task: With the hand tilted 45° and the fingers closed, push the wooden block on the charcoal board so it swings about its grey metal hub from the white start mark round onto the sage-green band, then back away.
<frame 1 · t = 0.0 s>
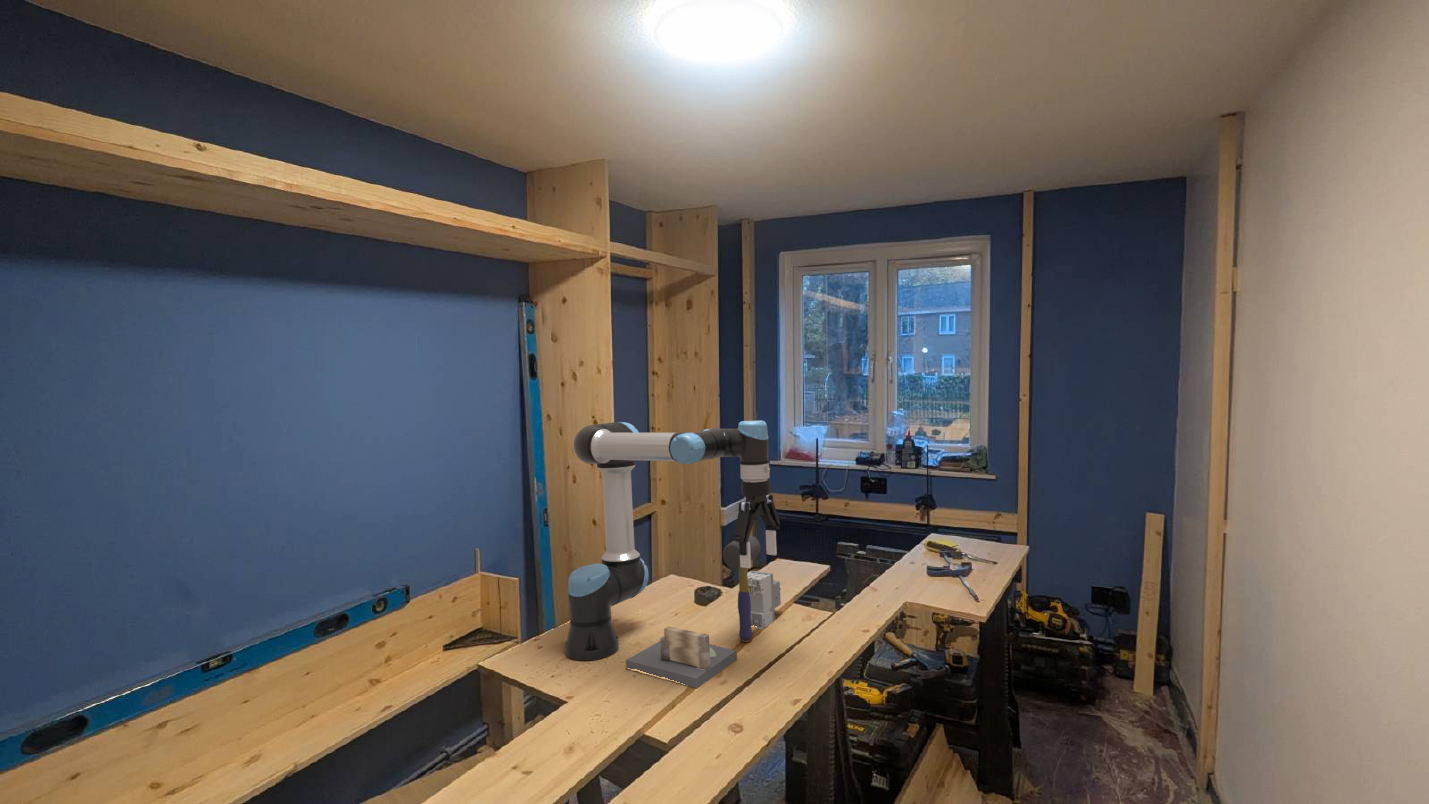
hand: (759, 560, 167), 28 cm above the table, tool pointing down, fingers open, 13 cm apart
wooden block: (684, 646, 166), point 7 cm above the table, hinge at 0.0°
circuit breaker: (762, 620, 201), on the table
rubber mallet: (746, 641, 185), on the table
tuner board: (682, 664, 171), on the table
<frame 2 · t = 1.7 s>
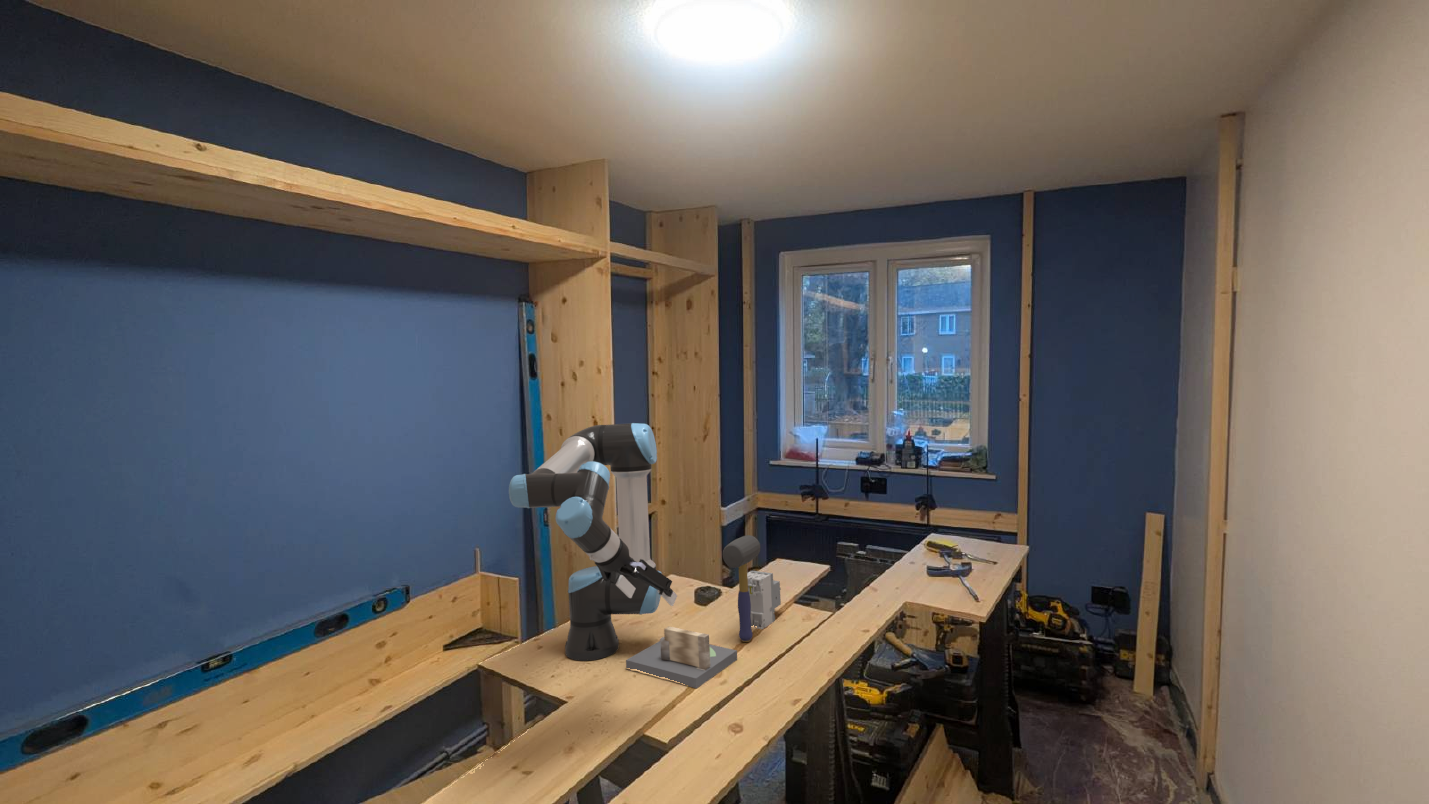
hand: (652, 596, 155), 23 cm above the table, tool tilted 45°, fingers open, 12 cm apart
nothing on the table moved.
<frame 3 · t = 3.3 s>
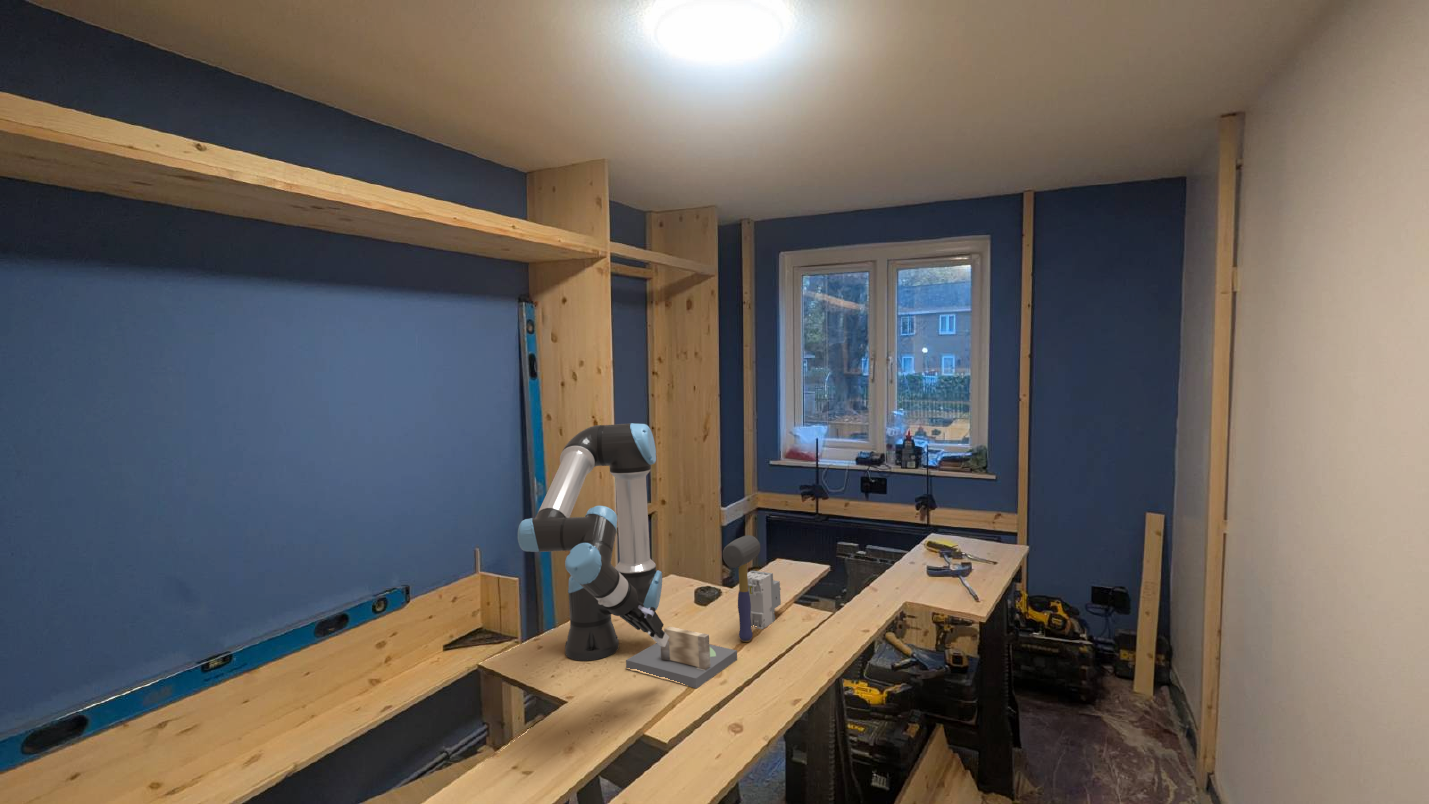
hand: (664, 641, 158), 11 cm above the table, tool tilted 45°, fingers closed
nothing on the table moved.
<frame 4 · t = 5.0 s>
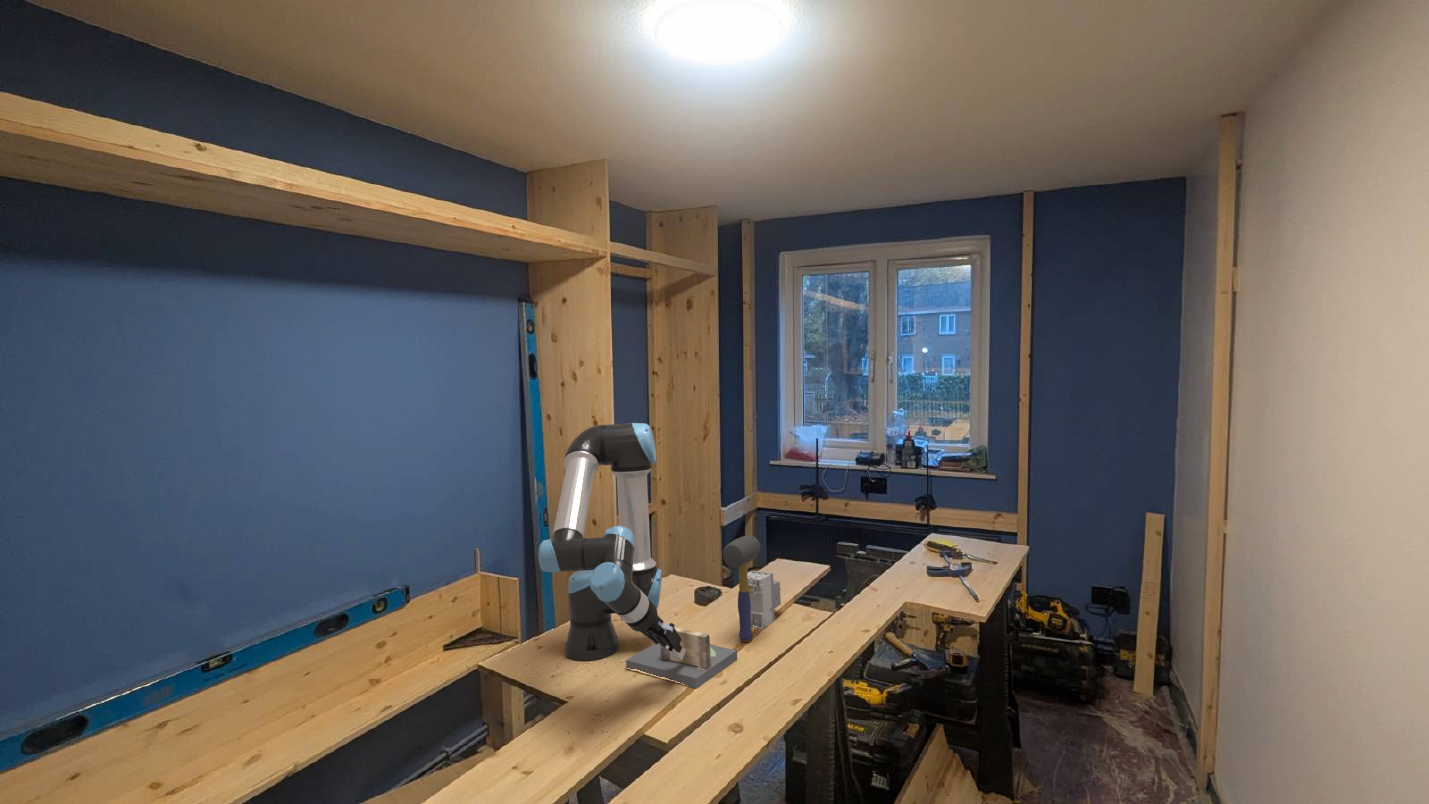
hand: (681, 654, 164), 6 cm above the table, tool tilted 45°, fingers closed
wooden block: (684, 646, 166), point 7 cm above the table, hinge at 1.1°, touching gripper
everything else where it was.
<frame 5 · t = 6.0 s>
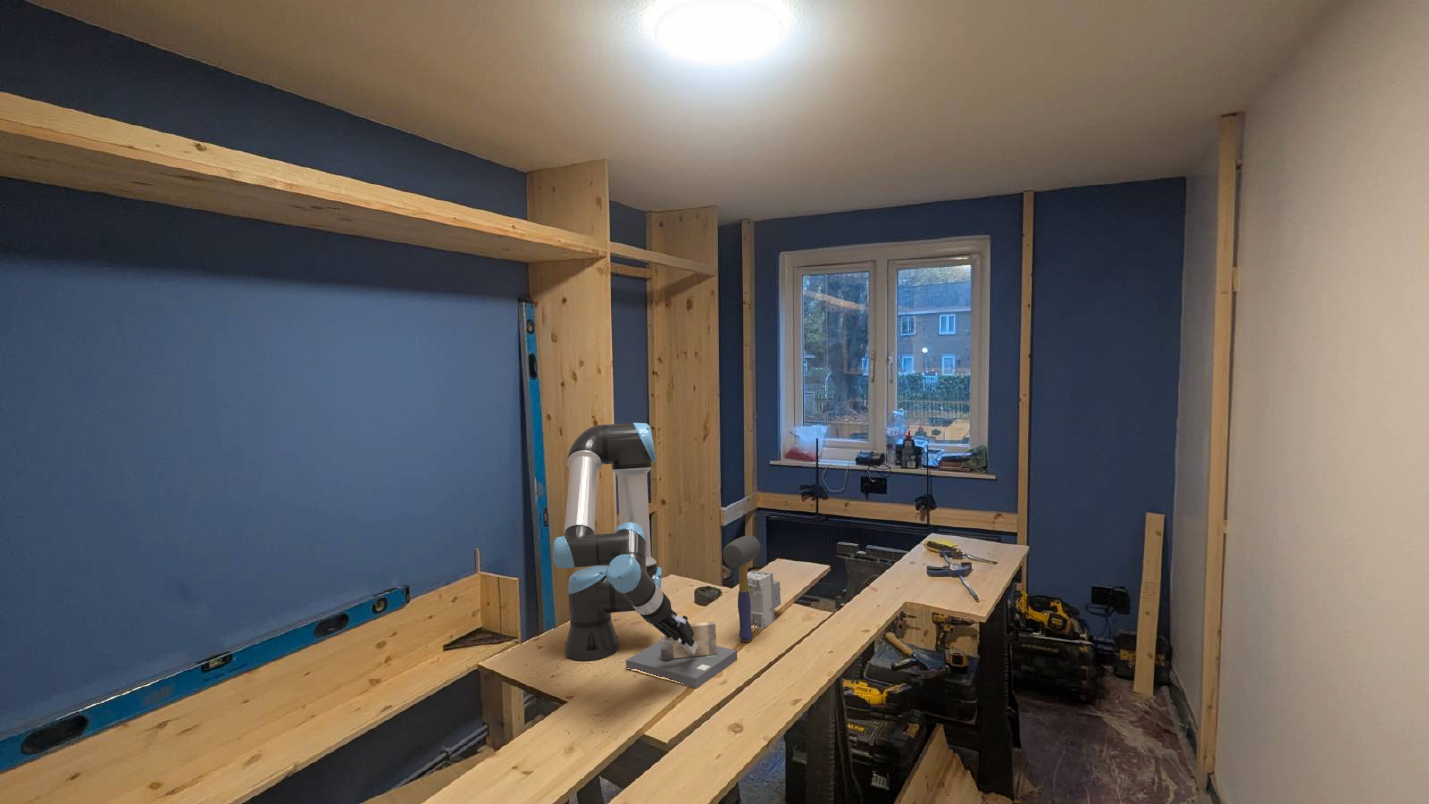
hand: (693, 649, 168), 5 cm above the table, tool tilted 45°, fingers closed
wooden block: (688, 640, 170), point 7 cm above the table, hinge at 41.6°, touching gripper
everything else where it was.
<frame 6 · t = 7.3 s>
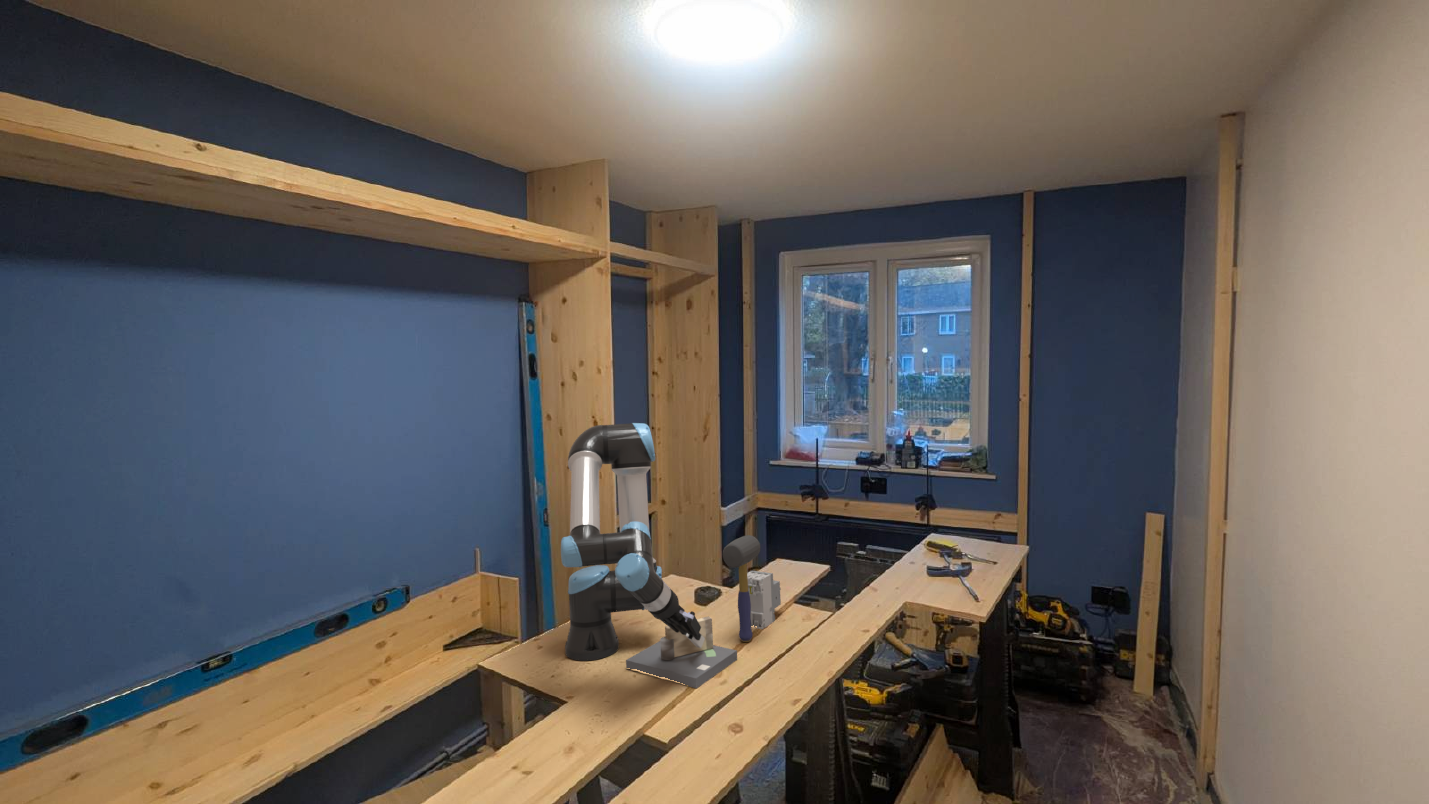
hand: (700, 642, 171), 6 cm above the table, tool tilted 45°, fingers closed
wooden block: (686, 637, 172), point 7 cm above the table, hinge at 60.7°, touching gripper
everything else where it was.
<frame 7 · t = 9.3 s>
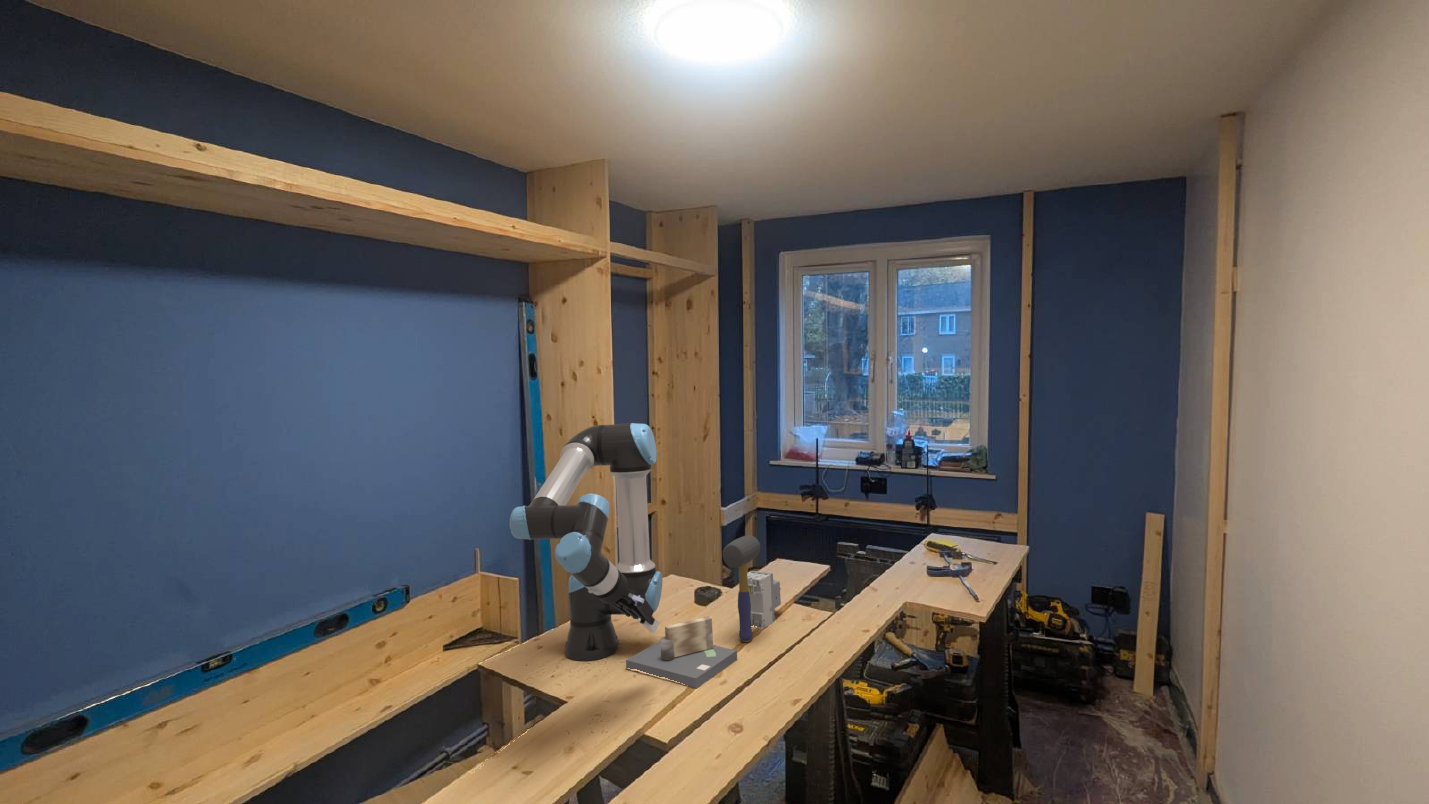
hand: (654, 627, 159), 15 cm above the table, tool tilted 45°, fingers closed
wooden block: (686, 637, 172), point 7 cm above the table, hinge at 60.8°
everything else where it was.
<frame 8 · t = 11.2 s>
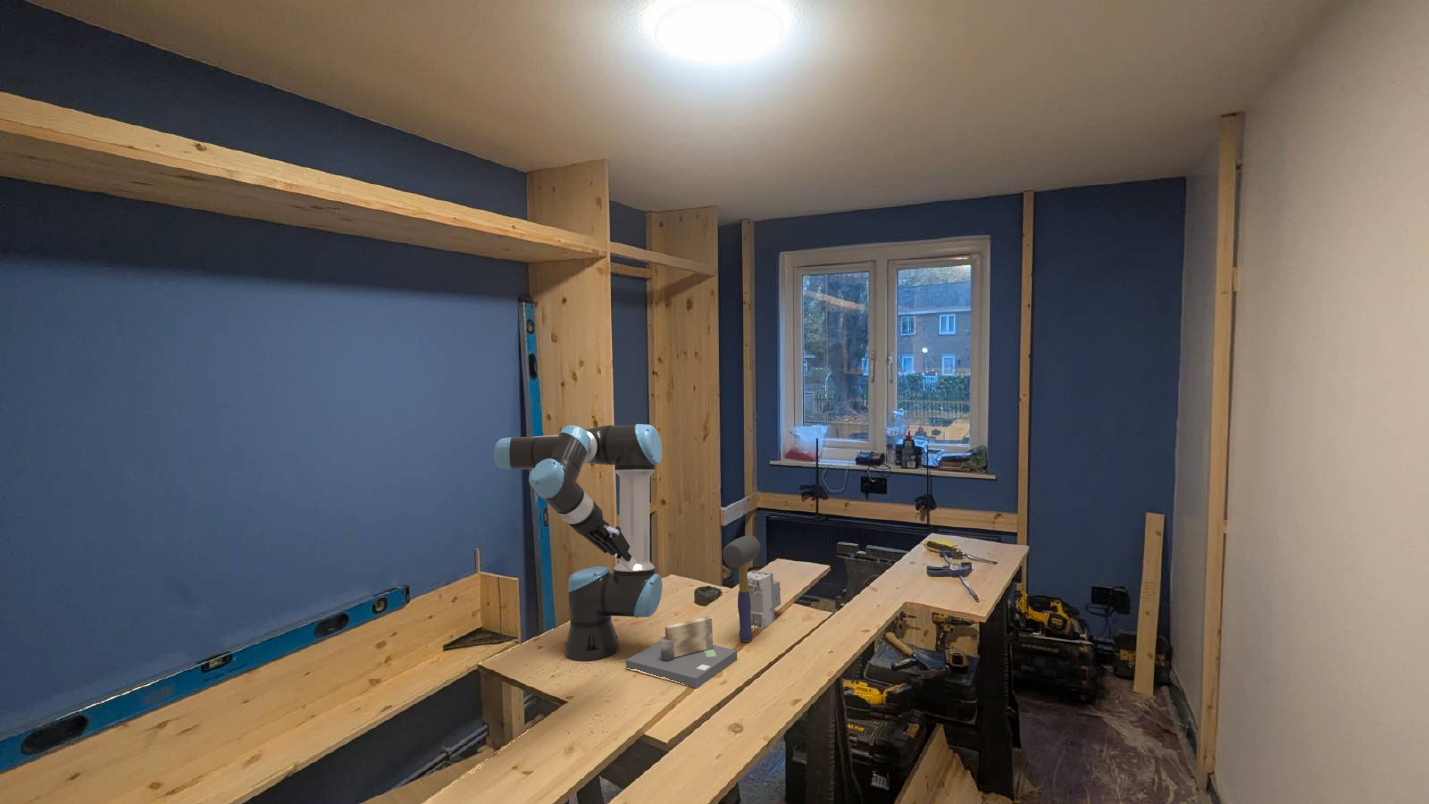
hand: (632, 565, 160), 30 cm above the table, tool tilted 45°, fingers closed
nothing on the table moved.
at the end: wooden block at +61° (first picture: +0°); the gripper is holding nothing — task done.
